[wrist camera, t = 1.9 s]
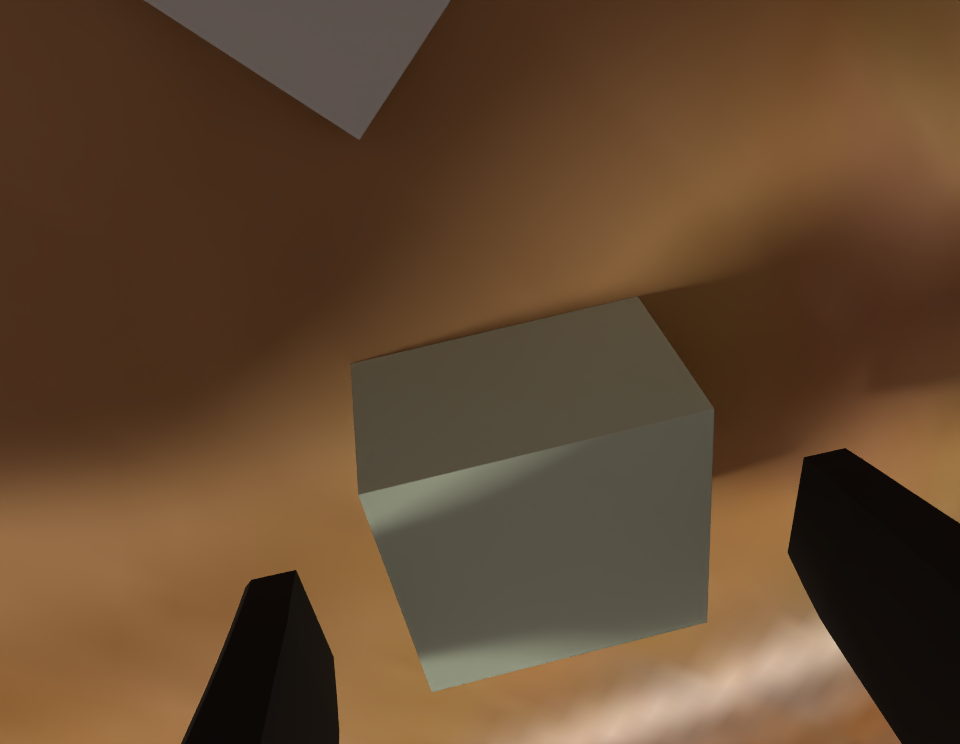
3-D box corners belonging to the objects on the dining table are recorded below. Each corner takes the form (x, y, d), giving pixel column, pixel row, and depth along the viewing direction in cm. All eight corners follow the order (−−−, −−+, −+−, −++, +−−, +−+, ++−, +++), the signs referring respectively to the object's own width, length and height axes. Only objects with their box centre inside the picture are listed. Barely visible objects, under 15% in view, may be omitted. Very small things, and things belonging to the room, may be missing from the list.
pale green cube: (642, 490, 14) (707, 621, 12) (412, 546, 14) (432, 691, 12) (633, 290, 12) (714, 408, 9) (350, 356, 12) (357, 494, 9)
